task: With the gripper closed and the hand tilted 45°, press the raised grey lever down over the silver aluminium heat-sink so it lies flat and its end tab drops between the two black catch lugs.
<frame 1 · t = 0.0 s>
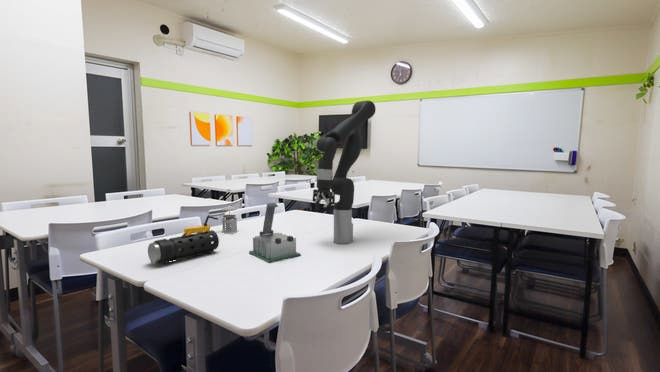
hand: (322, 211, 172), 17 cm above the table, tool pointing down, fingers open, 8 cm apart
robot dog: (201, 242, 180), on the table
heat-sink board: (274, 254, 160), on the table
grey lever: (269, 219, 161), point 15 cm above the table, hinge at 72.0°
french press: (228, 232, 202), on the table
muzzle brake: (185, 259, 154), on the table
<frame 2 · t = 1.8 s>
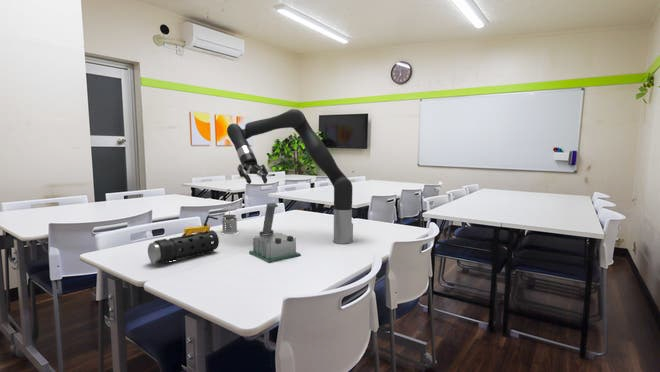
hand: (258, 182, 167), 32 cm above the table, tool tilted 40°, fingers open, 8 cm apart
nothing on the table moved.
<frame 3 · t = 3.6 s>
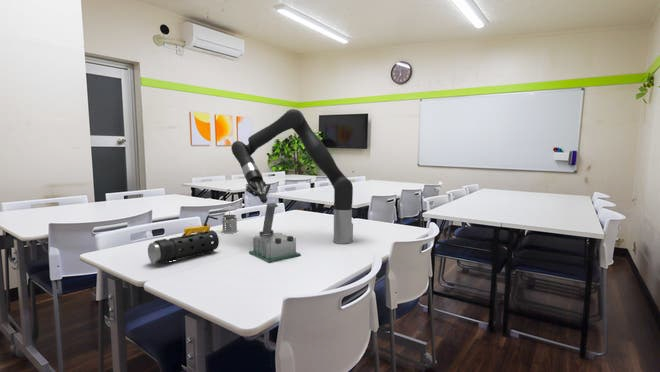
hand: (265, 201, 164), 23 cm above the table, tool tilted 45°, fingers closed
nothing on the table moved.
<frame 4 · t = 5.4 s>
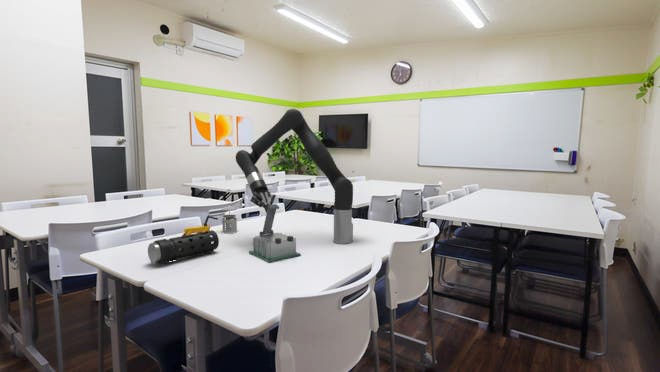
hand: (270, 212, 161), 19 cm above the table, tool tilted 45°, fingers closed
grey lever: (270, 220, 161), point 15 cm above the table, hinge at 67.0°, touching gripper
everything else where it was.
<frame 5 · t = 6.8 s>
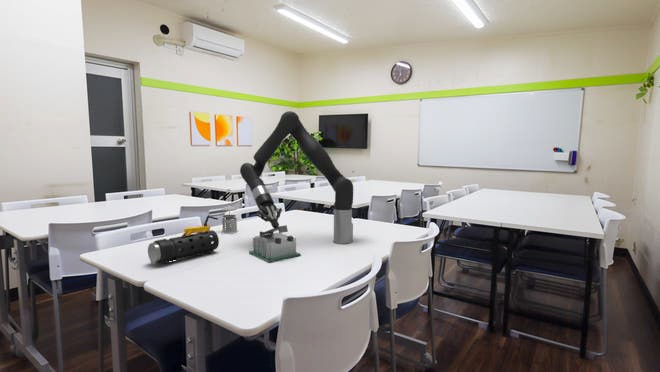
hand: (276, 227, 157), 13 cm above the table, tool tilted 45°, fingers closed
grey lever: (274, 232, 159), point 10 cm above the table, hinge at 20.8°, touching gripper
everything else where it was.
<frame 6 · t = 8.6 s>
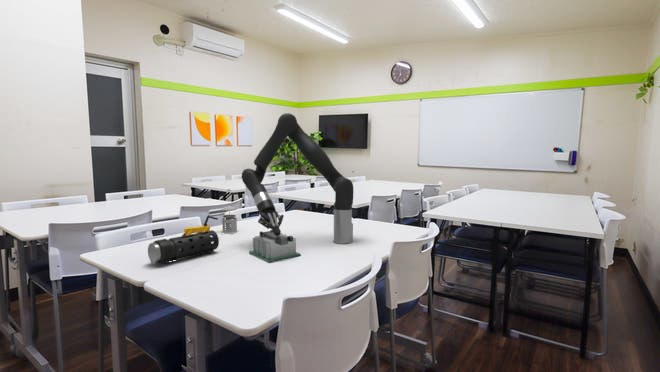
hand: (278, 234, 156), 10 cm above the table, tool tilted 45°, fingers closed
grey lever: (274, 237, 159), point 8 cm above the table, hinge at 0.0°
everything else where it was.
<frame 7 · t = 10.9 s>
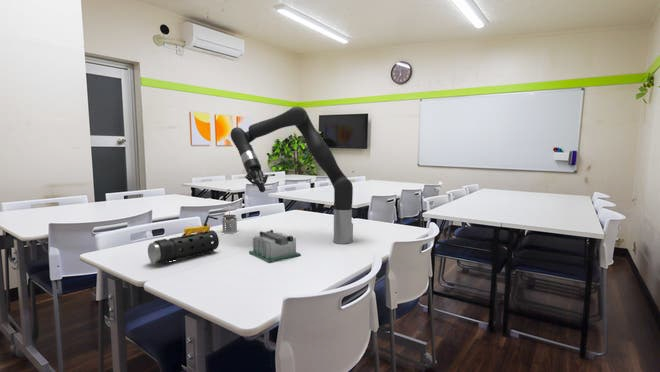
hand: (263, 191, 167), 28 cm above the table, tool tilted 40°, fingers closed
nothing on the table moved.
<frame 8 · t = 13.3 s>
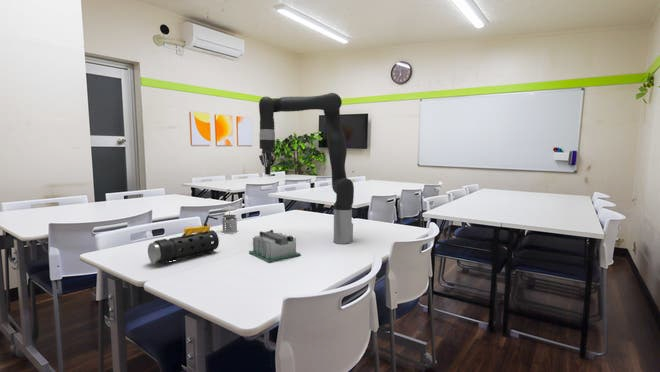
hand: (267, 174, 174), 35 cm above the table, tool pointing down, fingers closed
nothing on the table moved.
at the end: grey lever at +0° (first picture: +72°); muzzle brake moved 0.4 cm from its start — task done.
